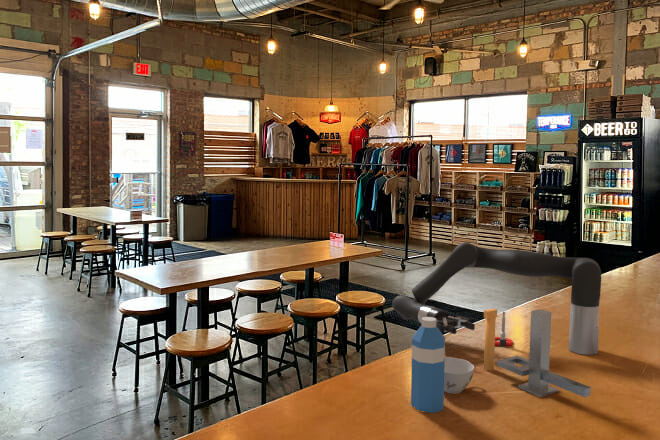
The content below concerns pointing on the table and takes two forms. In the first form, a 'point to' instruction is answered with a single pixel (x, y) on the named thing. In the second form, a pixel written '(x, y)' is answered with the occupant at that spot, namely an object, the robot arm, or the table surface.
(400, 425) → the table surface
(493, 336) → the wedge pin
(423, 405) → the water bottle
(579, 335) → the robot arm
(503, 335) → the red handwheel with stem
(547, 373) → the scaffold post with crossbars
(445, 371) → the teacup
